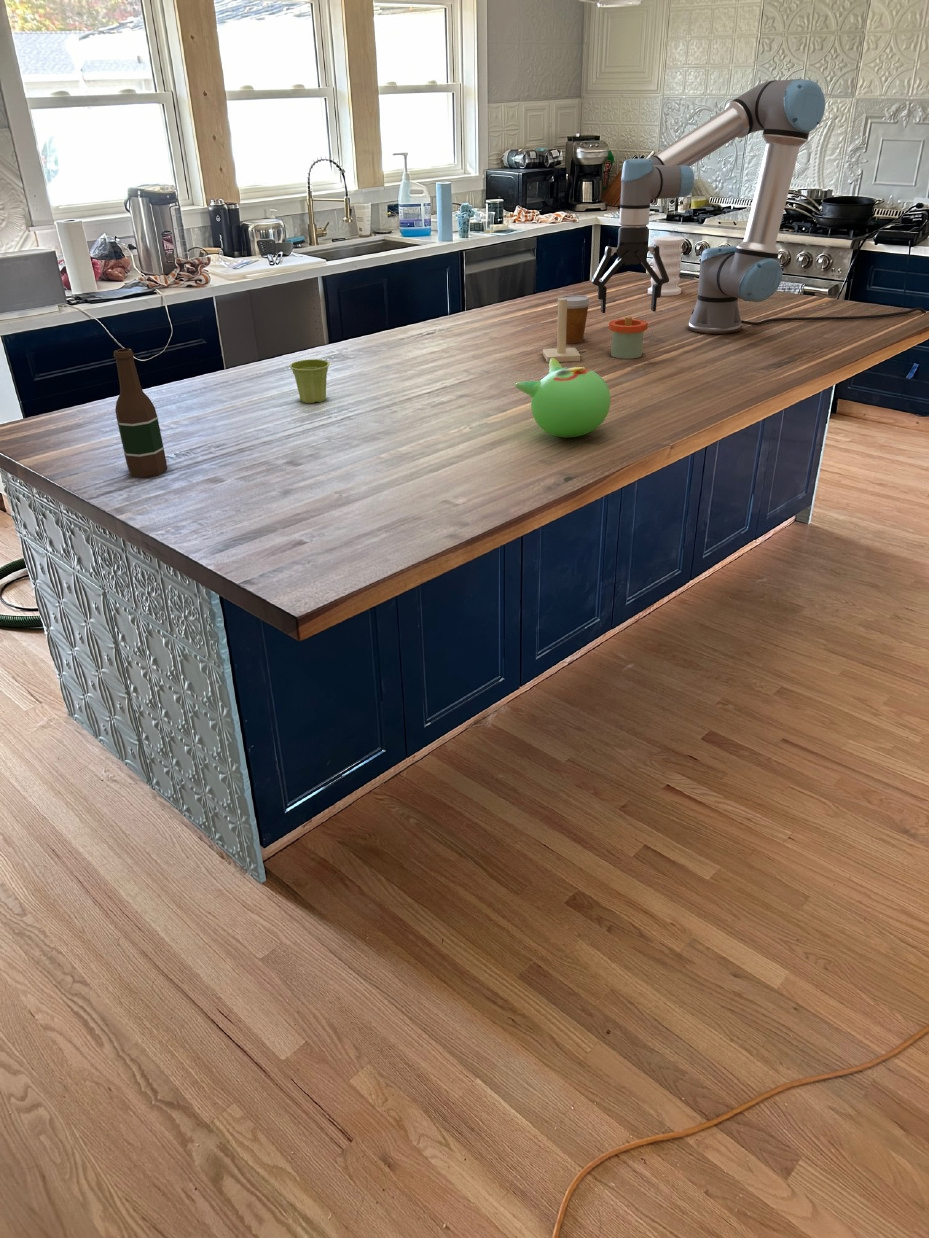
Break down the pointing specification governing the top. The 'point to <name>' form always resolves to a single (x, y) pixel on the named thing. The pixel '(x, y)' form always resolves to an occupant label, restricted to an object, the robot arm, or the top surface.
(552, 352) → the tall post
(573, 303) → the disposable coffee cup
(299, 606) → the top surface
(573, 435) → the toy bird
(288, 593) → the top surface
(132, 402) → the beer bottle
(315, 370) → the plant pot
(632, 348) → the green cylinder with peg
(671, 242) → the decorative container
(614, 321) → the ring
